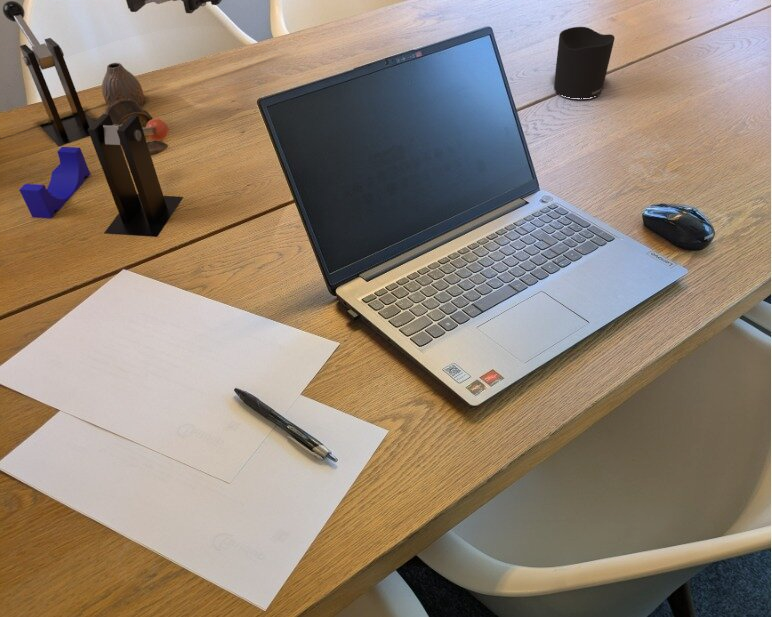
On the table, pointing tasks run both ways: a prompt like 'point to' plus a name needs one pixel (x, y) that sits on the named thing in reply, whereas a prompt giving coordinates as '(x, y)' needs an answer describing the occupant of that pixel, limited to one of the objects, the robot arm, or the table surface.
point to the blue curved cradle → (57, 184)
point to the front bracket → (135, 210)
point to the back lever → (29, 34)
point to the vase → (121, 85)
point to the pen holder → (582, 62)
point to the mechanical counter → (128, 107)
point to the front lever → (153, 129)
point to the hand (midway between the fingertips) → (158, 5)
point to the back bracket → (57, 128)
